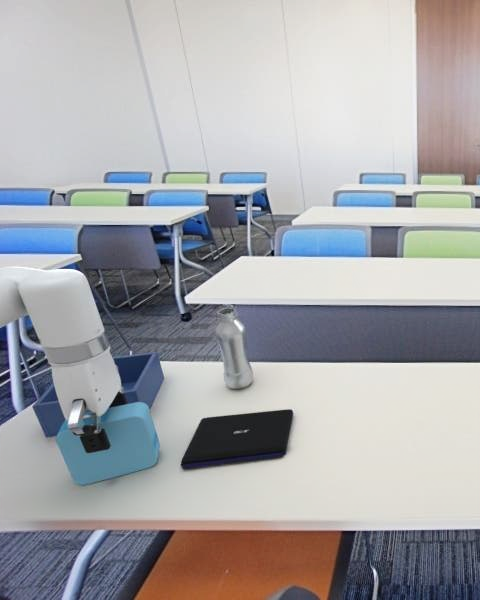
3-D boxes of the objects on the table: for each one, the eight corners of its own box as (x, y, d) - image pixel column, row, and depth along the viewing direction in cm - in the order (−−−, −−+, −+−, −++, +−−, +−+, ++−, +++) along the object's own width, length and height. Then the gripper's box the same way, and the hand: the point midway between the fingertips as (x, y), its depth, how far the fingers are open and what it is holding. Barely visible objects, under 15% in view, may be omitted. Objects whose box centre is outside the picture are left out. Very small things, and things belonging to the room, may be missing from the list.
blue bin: (45, 437, 79) (31, 406, 77) (81, 389, 94) (70, 362, 91) (145, 420, 85) (135, 391, 82) (164, 378, 99) (157, 351, 96)
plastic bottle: (226, 395, 94) (211, 319, 87) (224, 380, 100) (209, 308, 92) (256, 387, 98) (244, 314, 90) (252, 374, 103) (240, 303, 95)
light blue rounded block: (162, 449, 78) (146, 399, 73) (159, 465, 74) (142, 414, 70) (83, 469, 73) (61, 417, 68) (75, 488, 69) (52, 433, 64)
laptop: (279, 469, 75) (278, 461, 74) (168, 471, 73) (165, 463, 73) (302, 414, 90) (301, 407, 89) (210, 414, 88) (208, 407, 87)
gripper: (72, 326, 70) (102, 405, 76) (16, 380, 55) (59, 473, 62) (124, 320, 72) (149, 398, 79) (84, 371, 57) (118, 461, 64)
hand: (109, 430), depth 70 cm, fingers open, 9 cm apart
